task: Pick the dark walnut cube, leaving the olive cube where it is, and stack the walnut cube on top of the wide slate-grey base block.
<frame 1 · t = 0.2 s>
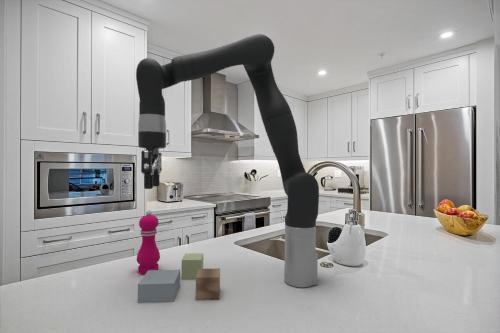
hand: (152, 187, 77), 28 cm above the table, tool pointing down, fingers open, 8 cm apart
walnut block: (208, 294, 72), on the table
slate base block: (160, 294, 72), on the table
pepper mill: (148, 271, 88), on the table
olive block: (192, 275, 85), on the table
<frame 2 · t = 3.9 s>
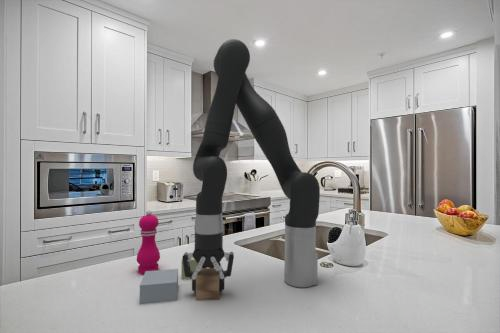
hand: (208, 291, 72), 1 cm above the table, tool pointing down, fingers closed on walnut block, 6 cm apart
walnut block: (208, 294, 72), on the table, touching gripper
everything else where it was.
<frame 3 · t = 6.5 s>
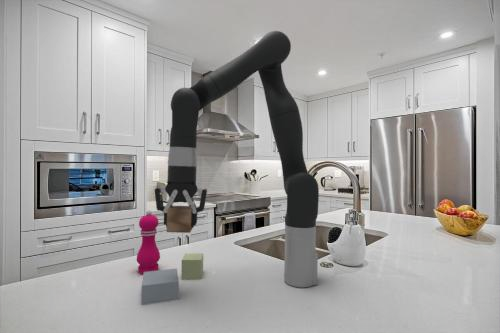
hand: (180, 226, 72), 18 cm above the table, tool pointing down, fingers closed on walnut block, 6 cm apart
walnut block: (180, 229, 72), point 18 cm above the table, touching gripper
everything else where it was.
when the fingers open (7 cm above the table, at t = 9.2 s): walnut block drops 2 cm, resting on slate base block.
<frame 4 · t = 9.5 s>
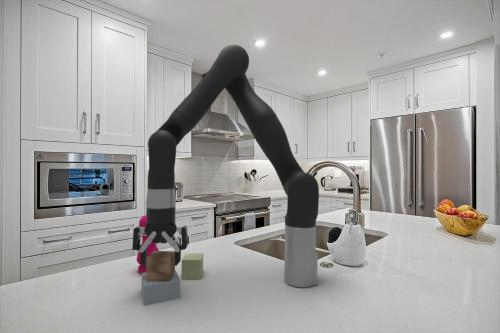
hand: (160, 264, 72), 8 cm above the table, tool pointing down, fingers open, 8 cm apart
walnut block: (161, 276, 72), point 5 cm above the table, touching slate base block
slate base block: (160, 295, 72), on the table, touching walnut block
everything else where it was.
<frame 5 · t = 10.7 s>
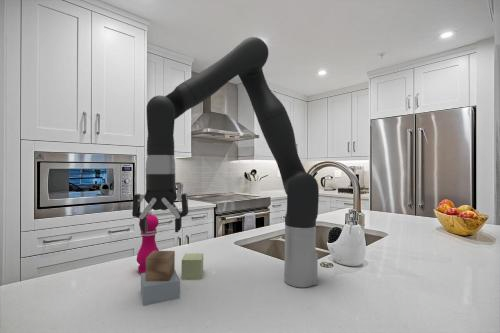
hand: (161, 232, 72), 17 cm above the table, tool pointing down, fingers open, 8 cm apart
nothing on the table moved.
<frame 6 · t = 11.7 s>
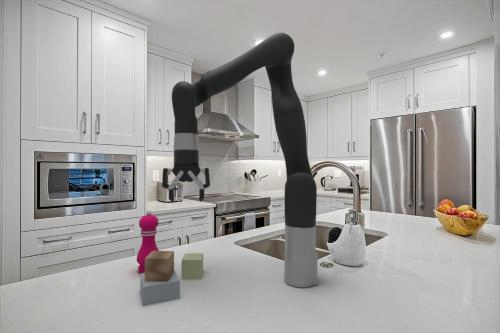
hand: (186, 201, 82), 24 cm above the table, tool pointing down, fingers open, 8 cm apart
nothing on the table moved.
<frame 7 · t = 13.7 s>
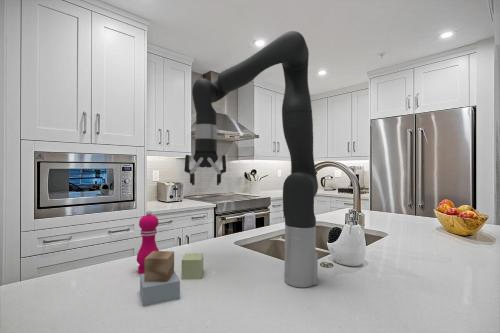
hand: (205, 184, 93), 28 cm above the table, tool pointing down, fingers open, 8 cm apart
nothing on the table moved.
at the end: walnut block 0.4 cm off-centre on the slate base block, point 5.0 cm above the slate base block's base; walnut block tilted 0°; olive block moved 0.1 cm from its start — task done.
